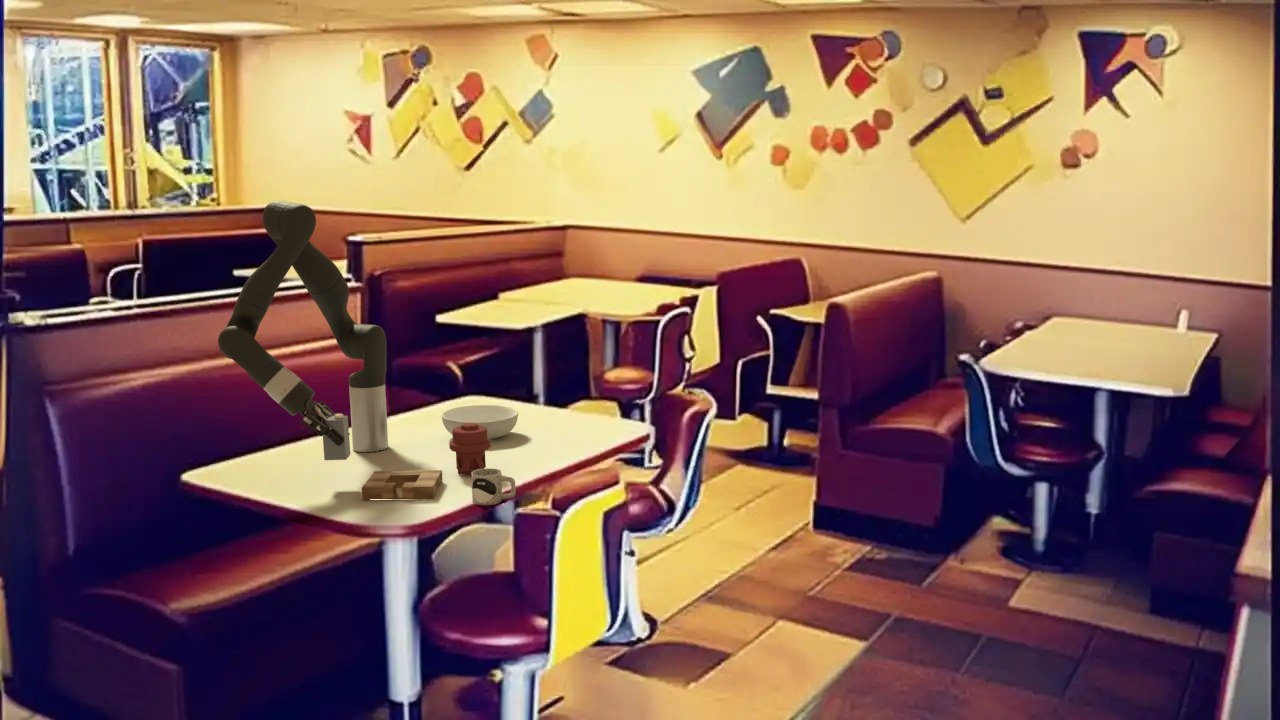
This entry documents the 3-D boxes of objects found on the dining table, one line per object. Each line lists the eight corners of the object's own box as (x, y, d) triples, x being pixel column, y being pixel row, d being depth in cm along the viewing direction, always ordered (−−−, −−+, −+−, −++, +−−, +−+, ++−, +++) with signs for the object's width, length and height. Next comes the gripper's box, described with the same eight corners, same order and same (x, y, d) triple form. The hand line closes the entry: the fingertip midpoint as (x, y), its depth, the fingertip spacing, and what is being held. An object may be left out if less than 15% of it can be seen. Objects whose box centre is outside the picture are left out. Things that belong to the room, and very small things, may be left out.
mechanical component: (442, 475, 285) (472, 466, 292) (470, 481, 278) (500, 472, 286) (439, 425, 282) (470, 418, 290) (468, 431, 276) (498, 423, 284)
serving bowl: (441, 448, 311) (440, 422, 310) (444, 430, 332) (442, 406, 330) (519, 444, 314) (519, 419, 313) (517, 426, 334) (517, 403, 333)
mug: (468, 504, 260) (467, 475, 259) (477, 496, 267) (476, 467, 266) (511, 506, 259) (510, 477, 258) (520, 497, 265) (519, 469, 264)
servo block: (329, 454, 277) (326, 412, 275) (350, 454, 277) (347, 412, 275) (324, 460, 273) (321, 417, 271) (346, 459, 273) (342, 416, 271)
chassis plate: (374, 483, 278) (374, 471, 277) (442, 482, 278) (441, 470, 278) (362, 500, 264) (361, 487, 264) (433, 499, 265) (432, 486, 264)
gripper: (291, 386, 264) (348, 436, 267) (307, 373, 278) (362, 421, 281) (269, 409, 265) (326, 459, 268) (287, 395, 279) (341, 443, 282)
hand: (344, 439), depth 274 cm, fingers closed on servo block, 4 cm apart
